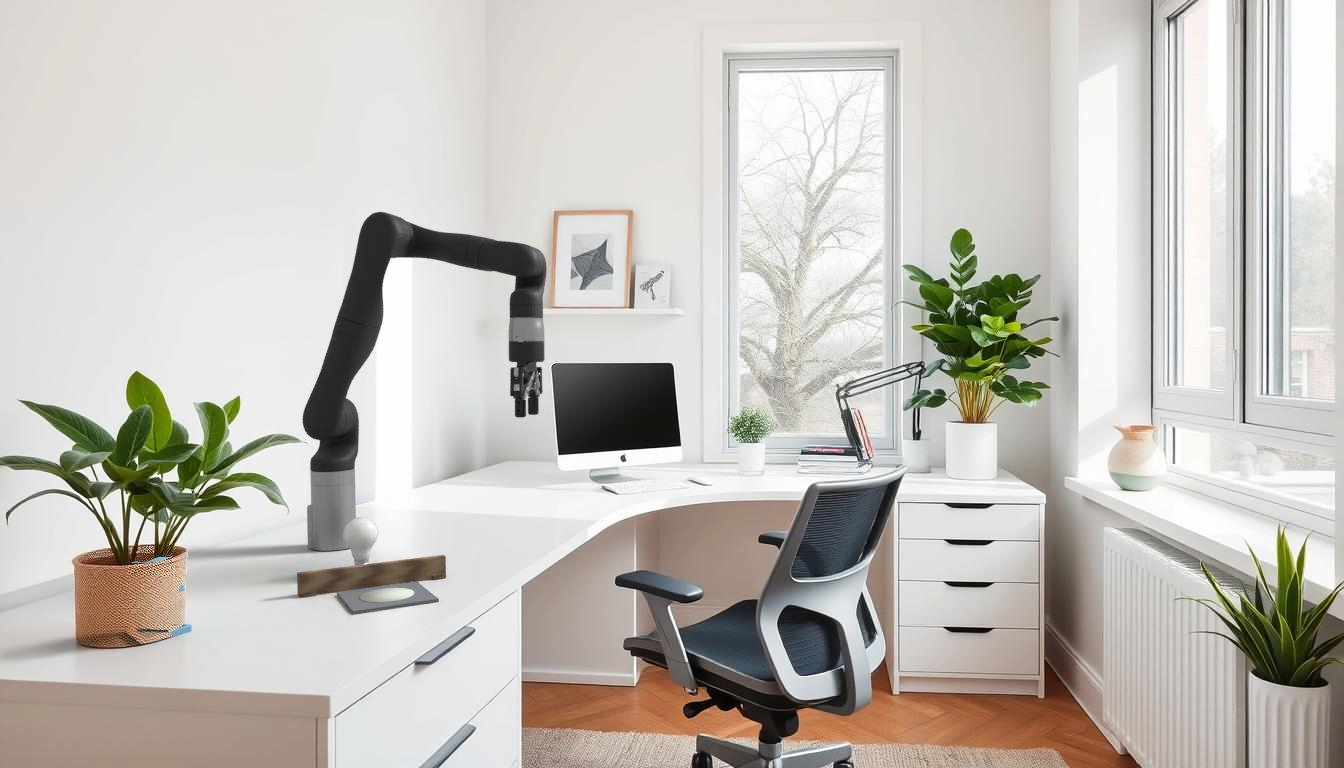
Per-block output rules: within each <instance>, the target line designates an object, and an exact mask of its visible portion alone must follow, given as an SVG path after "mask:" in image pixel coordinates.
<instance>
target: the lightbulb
mask: <svg viewBox="0 0 1344 768" xmlns="http://www.w3.org/2000/svg"><path fill="white" fill-rule="evenodd" d="M343 536H344V540H345V542H346V544H347V545H348V547H349V548H348V549H350V552H351V556H352V558H353V566H355V565H364V564H370V563H369V561H370V559H369V558H370V556H371V554H372V553H371V551H372V549H373V547H374V545H375V543H376V542H377V540H378V537H379V529H378V526H377V524H376V522H375V521H374V520H373V519H370V518H369V517H365V516H358V517H357V516H356V518H354V519H352V520H351V521H350V522H348V524H347V525H346V526H345V529H344V533H343Z"/></svg>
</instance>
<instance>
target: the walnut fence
mask: <svg viewBox="0 0 1344 768" xmlns="http://www.w3.org/2000/svg"><path fill="white" fill-rule="evenodd" d="M446 560H447V558H446V555H445V554H439V555H432V556H423V557H414V558H407V559H405V558H404V559H398V560H397V559H396V560H391V561H382V562H373V563H368V564H364V565H355V566H354V565H347V566H341V567H340V566H339V567H331V568H325V569H317V570H307V571H299V572H296V577H297V580H296V581H297V582H296V583H297V585H296V587H297V597H298V598H301V599H302V598H303V599H304V598H309V597H316V596H317V595H325V594H330V593H331V594H332V593H337V592H342V591H350V590H357V589H365V588H372V587H380V586H383V585H385V586H387V585H391V584H392V585H394V584H397V583H399V584H402V583H404V582H407V583H409V582H411V581H414V582H421V580H422V581H427V580H429V581H430V580H432V581H436V580H442V579H444V580H445V579H446V578H447V561H446Z"/></svg>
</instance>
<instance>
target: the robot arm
mask: <svg viewBox="0 0 1344 768" xmlns="http://www.w3.org/2000/svg"><path fill="white" fill-rule="evenodd" d="M397 258H402V259H403V258H404V259H405V258H408V259H409V258H411V259H413V258H415V259H416V258H417V259H428V260H435V261H438V262H439V261H441V262H444V263H447V264H450V265H455V266H459V267H461V268H463V267H464V268H467V269H472V270H478V271H484V272H496V273H500V274H505V275H508V276H512V277H515V281H514V282H515V283H514V291H512V292H511V293H510V295H509V296H510V297H509V321H508V361H509V362H510V363H516V367H515V366H514V367H510V372H509V373H510V374H509V376H510V379H509V380H510V381H509V386H510V387H509V396H510V397H512V398H513V400H514V416H515V418H521V419H522V418H526V416H527V414H528V415H529V416H537V415H539V412H540V411H539V410H540V409H539V408H540V407H539V406H540V405H539V404H540V403H539V401H540V400H539V398H540V397H541V394H543V368H542V366H538V365H537V363H543V362H544V361H545V360H546V359H545V358H546V357H545V325H544V300H543V299H544V298H543V296H544V291H545V285H546V281H547V271H548V270H547V260H546V256H545V255H544V253H543V252H542V250H540V249H539V248H537V247H534V246H531V245H530V244H525V243H523V242H516V241H515V242H514V241H506V240H505V241H503V240H496V239H493V238H490V237H486V236H479V235H474V234H467V233H457V232H443V231H438V230H434V229H433V230H432V229H429V228H426V227H423V226H421V225H418V224H415V223H412V222H409V221H407V220H405V219H404V218H402V217H400V216H397V215H394V214H391V213H389V212H385V211H377V212H373V213H371V214H370V215H369V216H367V217H366V218H365V220H364V221H363V223H362V225H361V227H360V230H359V235H358V240H357V244H356V249H355V254H354V259H353V265H352V268H351V273H350V276H349V279H348V282H347V285H346V288H345V292H344V295H343V299H342V302H341V306H340V307H339V310H338V314H337V317H336V319H335V323H334V325H333V330H332V334H331V337H330V340H329V344H328V347H327V349H326V353H325V355H324V359H323V362H322V365H321V369H320V372H319V374H318V376H317V379H316V381H315V384H314V386H313V388H312V390H311V393H310V395H309V396H308V400H307V402H306V404H305V406H304V410H303V413H302V427H303V430H304V432H305V433H306V435H307V436H309V437H310V438H311V439H313V440H317V441H319V445H318V448H317V451H316V452H315V453H314V455H312V457H311V458H310V463H309V465H310V467H309V469H310V471H309V474H310V504H308V505H307V506H306V523H307V524H306V525H307V528H306V529H307V549H309V550H314V551H325V552H326V551H329V552H331V551H340V550H341V551H342V550H348V549H350V548H349V547H348V545H347V544H346V542H345V540H344V536H343V533H344V529H345V526H346V525H347V524H348V522H350V521H351V520H352V519H354V518H357V514H356V513H357V511H356V510H357V508H356V504H357V503H356V500H357V499H356V469H355V468H356V459H357V457H358V453H359V441H360V439H359V437H360V436H359V435H360V432H359V431H360V420H359V419H360V418H359V412H358V409H357V407H356V405H355V403H353V402H352V401H351V400H350V399H348V398H347V396H348V392H349V389H350V387H351V385H352V382H353V380H354V378H355V377H356V376H357V374H358V373H359V371H360V370H361V369H362V367H363V366H364V364H365V363H366V362H367V361H368V358H369V357H370V355H371V354H372V352H373V350H374V348H375V347H376V344H377V341H378V337H379V334H380V331H381V328H382V325H383V320H384V295H383V291H384V289H383V288H384V279H385V275H386V272H387V269H388V267H389V264H390V261H391V259H397ZM527 397H528V398H527ZM526 399H527V400H526Z"/></svg>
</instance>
